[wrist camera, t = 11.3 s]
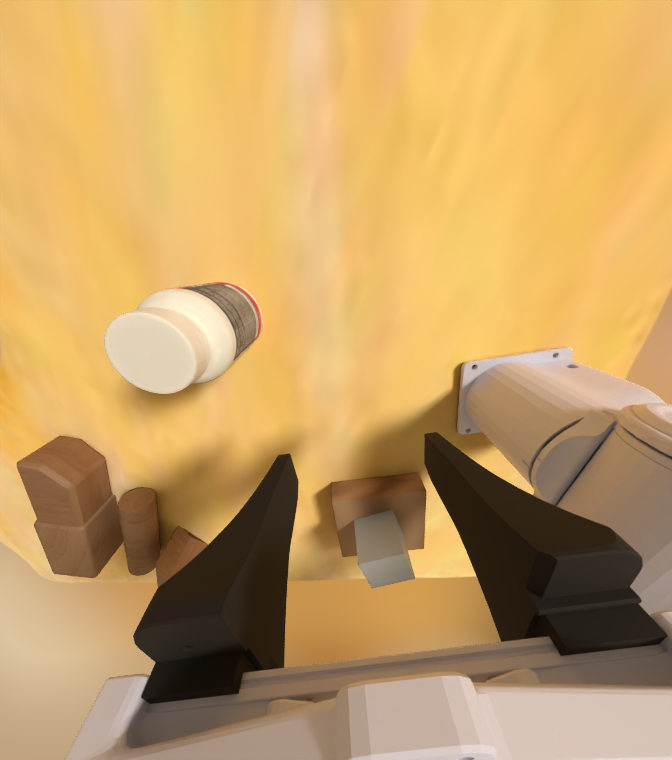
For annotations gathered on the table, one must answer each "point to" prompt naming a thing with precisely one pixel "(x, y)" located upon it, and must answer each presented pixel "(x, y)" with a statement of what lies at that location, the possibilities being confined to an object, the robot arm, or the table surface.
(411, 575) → the grey cube
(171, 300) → the pill bottle
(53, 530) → the wooden block set
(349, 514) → the walnut block
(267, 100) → the table surface
